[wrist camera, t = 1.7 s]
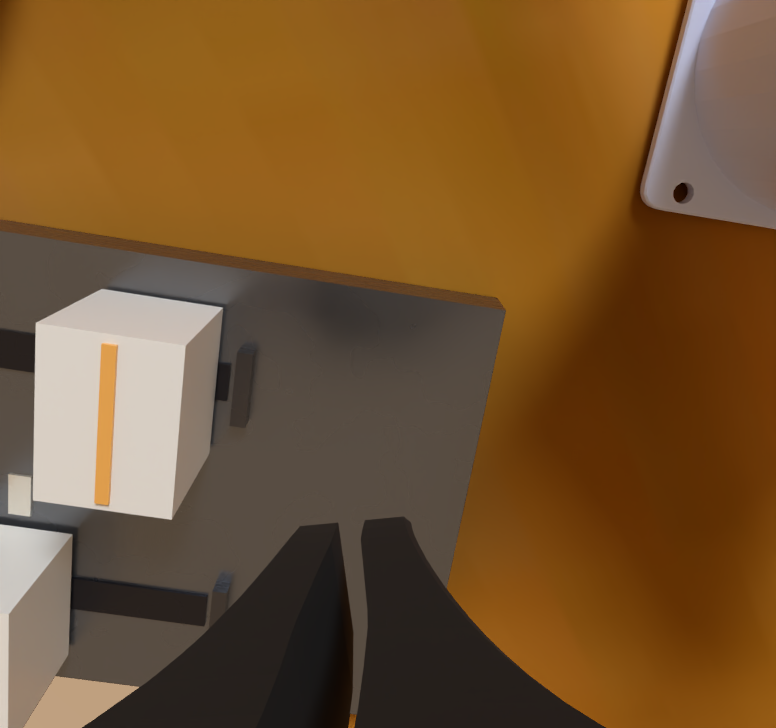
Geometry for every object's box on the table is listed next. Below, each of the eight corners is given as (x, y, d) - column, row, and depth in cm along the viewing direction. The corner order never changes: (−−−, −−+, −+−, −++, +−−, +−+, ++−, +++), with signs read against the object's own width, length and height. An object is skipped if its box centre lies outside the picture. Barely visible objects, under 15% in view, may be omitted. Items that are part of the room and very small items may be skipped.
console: (496, 297, 20) (509, 315, 18) (416, 686, 23) (418, 735, 21) (-261, 178, 19) (-335, 182, 17) (-218, 603, 22) (-274, 647, 20)
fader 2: (223, 307, 18) (184, 347, 14) (209, 453, 19) (170, 522, 16) (101, 289, 18) (33, 323, 14) (95, 437, 19) (30, 502, 15)
